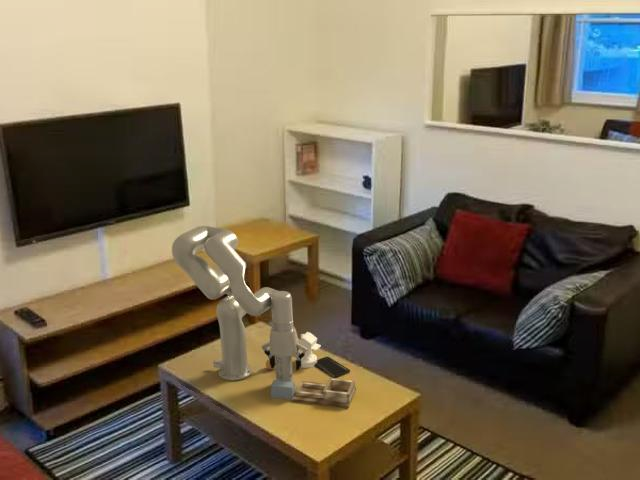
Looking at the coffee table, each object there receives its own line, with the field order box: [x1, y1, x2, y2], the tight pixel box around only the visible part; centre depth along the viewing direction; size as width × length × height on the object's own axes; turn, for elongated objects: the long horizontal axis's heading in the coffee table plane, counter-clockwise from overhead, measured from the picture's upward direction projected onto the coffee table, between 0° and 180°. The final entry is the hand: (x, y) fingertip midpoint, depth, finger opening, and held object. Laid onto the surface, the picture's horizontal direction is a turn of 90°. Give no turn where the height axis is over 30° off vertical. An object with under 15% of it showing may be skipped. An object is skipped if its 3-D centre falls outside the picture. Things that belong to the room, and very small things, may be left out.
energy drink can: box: [275, 355, 294, 382], centre depth 261 cm, size 6×6×15 cm
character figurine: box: [295, 331, 322, 369], centre depth 277 cm, size 9×10×12 cm
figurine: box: [265, 347, 276, 370], centre depth 273 cm, size 8×6×12 cm
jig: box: [291, 377, 357, 409], centre depth 254 cm, size 20×13×4 cm, turn 76°
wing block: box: [270, 379, 296, 401], centre depth 255 cm, size 8×4×5 cm, turn 78°
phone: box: [314, 356, 351, 379], centre depth 274 cm, size 8×1×15 cm
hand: (285, 367), depth 261 cm, fingers open, 9 cm apart
